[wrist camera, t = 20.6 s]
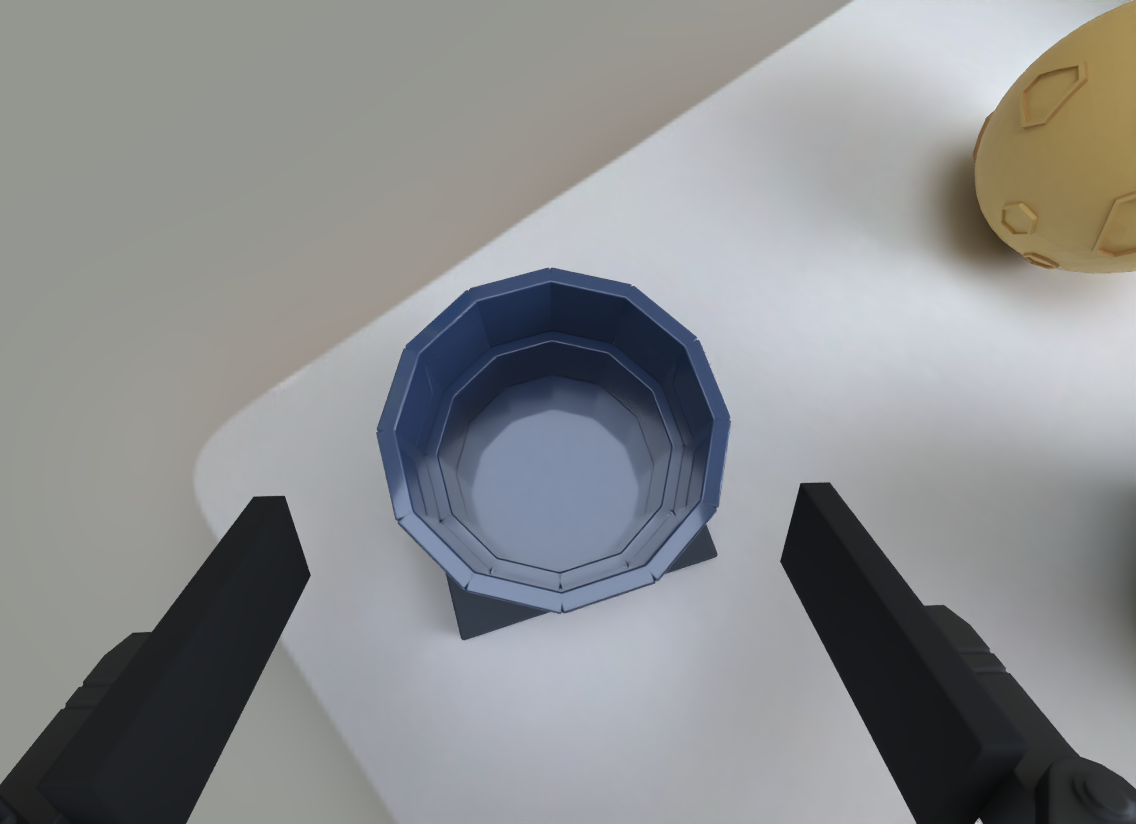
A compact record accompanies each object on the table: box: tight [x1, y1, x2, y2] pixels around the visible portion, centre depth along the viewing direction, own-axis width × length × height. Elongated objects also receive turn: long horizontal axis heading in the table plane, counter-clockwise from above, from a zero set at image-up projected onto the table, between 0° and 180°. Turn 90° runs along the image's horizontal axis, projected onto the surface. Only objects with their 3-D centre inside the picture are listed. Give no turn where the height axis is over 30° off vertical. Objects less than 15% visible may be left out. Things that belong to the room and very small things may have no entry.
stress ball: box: [973, 0, 1136, 273], centre depth 21 cm, size 10×10×10 cm
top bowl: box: [377, 268, 731, 614], centre depth 18 cm, size 9×9×7 cm
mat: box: [446, 525, 717, 640], centre depth 22 cm, size 10×10×1 cm
